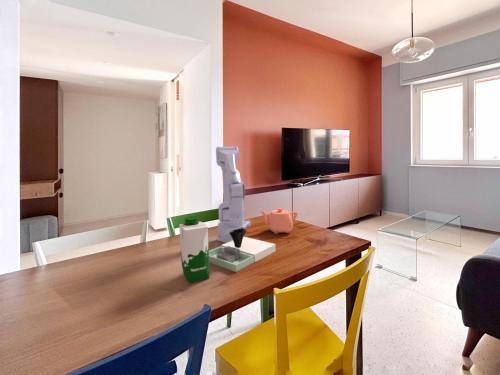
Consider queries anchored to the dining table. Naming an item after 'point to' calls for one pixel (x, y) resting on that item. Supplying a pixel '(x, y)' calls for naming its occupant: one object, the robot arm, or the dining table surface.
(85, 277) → the dining table surface
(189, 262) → the milk carton
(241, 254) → the box
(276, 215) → the teapot
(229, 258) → the tile
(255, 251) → the board
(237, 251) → the tile
